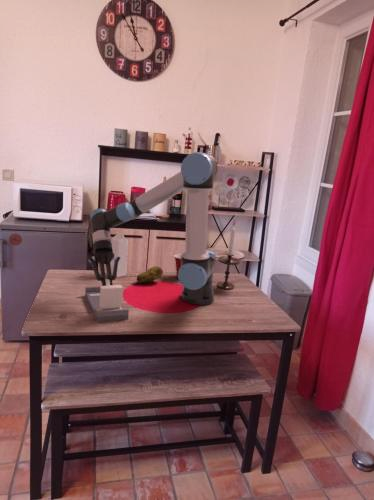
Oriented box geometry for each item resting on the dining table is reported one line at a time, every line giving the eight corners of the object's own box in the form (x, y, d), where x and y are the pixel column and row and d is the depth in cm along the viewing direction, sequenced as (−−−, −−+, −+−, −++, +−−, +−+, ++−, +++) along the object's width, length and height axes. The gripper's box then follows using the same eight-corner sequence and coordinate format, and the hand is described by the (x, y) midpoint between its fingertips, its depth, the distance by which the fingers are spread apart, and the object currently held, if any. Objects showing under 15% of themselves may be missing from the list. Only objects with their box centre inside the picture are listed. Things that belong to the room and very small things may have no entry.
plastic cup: (182, 272, 204) (184, 251, 201) (196, 278, 197) (198, 256, 194) (167, 275, 197) (169, 253, 194) (181, 281, 189) (183, 259, 186)
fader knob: (98, 307, 144) (99, 285, 141) (119, 306, 147) (120, 283, 145) (101, 313, 139) (102, 289, 137) (122, 311, 143) (123, 288, 140)
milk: (116, 277, 186) (119, 234, 180) (109, 273, 190) (111, 232, 184) (126, 275, 190) (129, 233, 185) (119, 271, 194) (121, 231, 188)
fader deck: (85, 295, 160) (85, 286, 159) (112, 293, 165) (113, 285, 164) (96, 322, 138) (97, 312, 136) (128, 319, 143) (128, 309, 142)
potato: (135, 278, 187) (137, 263, 185) (161, 279, 189) (162, 265, 187) (136, 284, 179) (137, 269, 177) (162, 285, 181) (164, 270, 179)
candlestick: (234, 292, 183) (244, 222, 174) (212, 287, 185) (221, 219, 176) (237, 285, 193) (247, 219, 184) (217, 281, 196) (225, 216, 187)
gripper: (115, 247, 160) (122, 298, 150) (85, 247, 155) (90, 300, 145) (119, 239, 154) (127, 291, 144) (87, 238, 149) (93, 293, 138)
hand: (108, 296), depth 144 cm, fingers closed
